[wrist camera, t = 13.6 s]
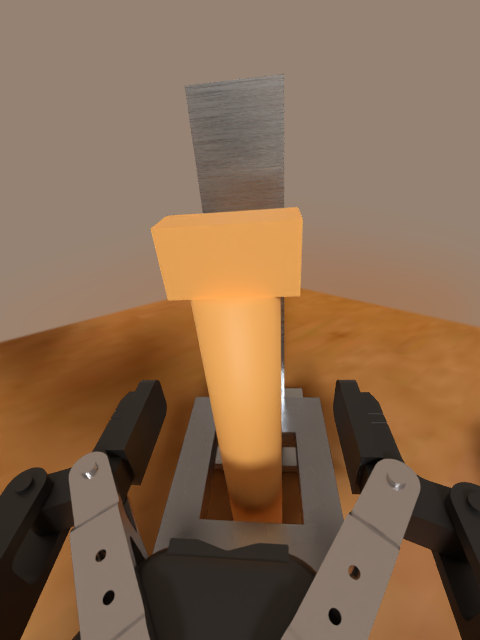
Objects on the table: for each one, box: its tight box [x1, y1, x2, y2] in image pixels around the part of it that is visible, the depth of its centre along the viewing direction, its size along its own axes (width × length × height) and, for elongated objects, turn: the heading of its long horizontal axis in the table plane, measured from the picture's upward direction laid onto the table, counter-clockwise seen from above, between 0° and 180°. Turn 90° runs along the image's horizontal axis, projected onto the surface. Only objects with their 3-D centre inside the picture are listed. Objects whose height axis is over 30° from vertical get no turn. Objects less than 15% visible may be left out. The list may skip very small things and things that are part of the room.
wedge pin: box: [151, 207, 303, 524], centre depth 14 cm, size 4×3×20 cm
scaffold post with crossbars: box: [153, 74, 344, 572], centre depth 21 cm, size 28×9×24 cm, turn 176°
